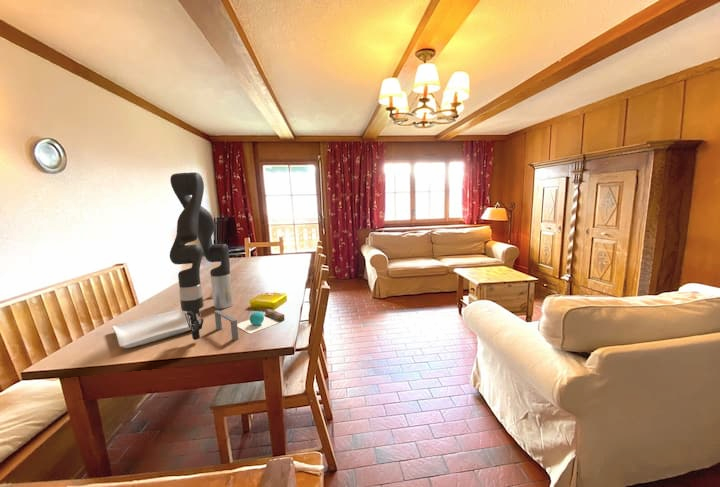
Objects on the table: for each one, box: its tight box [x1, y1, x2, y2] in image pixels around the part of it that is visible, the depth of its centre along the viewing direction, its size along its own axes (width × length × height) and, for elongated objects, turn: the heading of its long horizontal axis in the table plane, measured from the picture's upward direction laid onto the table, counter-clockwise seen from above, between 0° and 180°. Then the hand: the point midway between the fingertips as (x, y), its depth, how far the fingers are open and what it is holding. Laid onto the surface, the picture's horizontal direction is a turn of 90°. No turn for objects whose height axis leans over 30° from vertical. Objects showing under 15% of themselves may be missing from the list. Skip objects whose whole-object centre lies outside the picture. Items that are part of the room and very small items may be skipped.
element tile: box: [248, 291, 288, 311], centre depth 155 cm, size 15×15×5 cm
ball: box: [249, 311, 265, 325], centre depth 129 cm, size 6×6×6 cm
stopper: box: [264, 309, 285, 322], centre depth 137 cm, size 13×2×2 cm, turn 49°
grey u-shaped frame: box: [214, 309, 239, 341], centre depth 120 cm, size 17×2×8 cm, turn 49°
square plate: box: [111, 308, 192, 349], centre depth 125 cm, size 27×27×4 cm
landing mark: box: [237, 315, 280, 335], centre depth 130 cm, size 14×14×1 cm
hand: (196, 338), depth 114 cm, fingers closed
